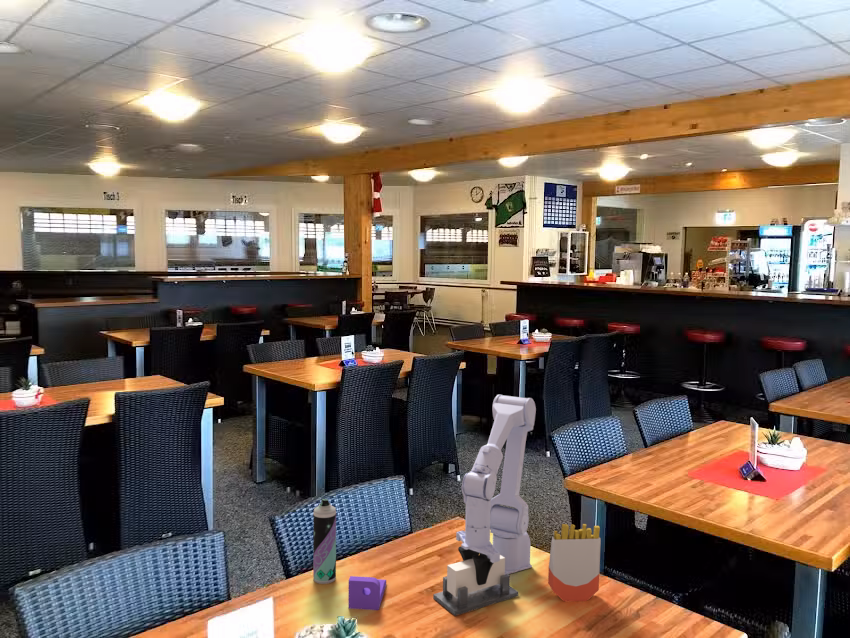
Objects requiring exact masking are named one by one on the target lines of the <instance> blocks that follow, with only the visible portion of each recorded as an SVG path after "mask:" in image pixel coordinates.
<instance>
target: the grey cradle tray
mask: <svg viewBox="0 0 850 638" xmlns="http://www.w3.org/2000/svg"><path fill="white" fill-rule="evenodd" d="M510 576H511V575H510V574H505V575H502V576H500V584H497V585H494V586H491V587H487V588H484V589H481V590H477V591H474V592H470V593H468V588H467V587H466V586H464V587H461V588H458V596H457V597H455V596H454V595H452V594H451V593H450V592H448V591H447V576H443V577H442V591H440V592H437V593H433V594H432V595H433V597H432V599H433V600H434V601H436V602H437V604H440V605H441V606H442V607H443V608H444V609H445V610H447V611H448V612H449V613H450V614H452V615H453V616H454V617H457V616H460V615H462V614H463V615H464V614H466V613H469V612H473V611H475V610H478V609H481V608H485V607H488V606H491V605H494V604H497V603H500V602H501V603H502V602H503V601H507V600H510V599H513V598H516V597H519V593H520V592H519V591H518V590H517V589H515V588H513V587H512V586H511V585H510V582H511V581H510V580H511V577H510Z"/></svg>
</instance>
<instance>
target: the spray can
mask: <svg viewBox="0 0 850 638" xmlns="http://www.w3.org/2000/svg"><path fill="white" fill-rule="evenodd" d="M329 501H330V500H329V499H327V498H321V502H319V504H318V506H316V507H314V509H313V512H312V513H313V521H312V522H313V523H312V524H313V542H312V543H313V545H312V546H313V549H312V550H313V555H312V556H313V567H312V568H313V573H312V574H313V577H312V578H313V581H314V583H317V584H320V585H328V584H331V583H333V582H334V581H335V580H336V579H337V511H336V510H337V508H336V507H335V506H333V505H331V503H330V502H329Z"/></svg>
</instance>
